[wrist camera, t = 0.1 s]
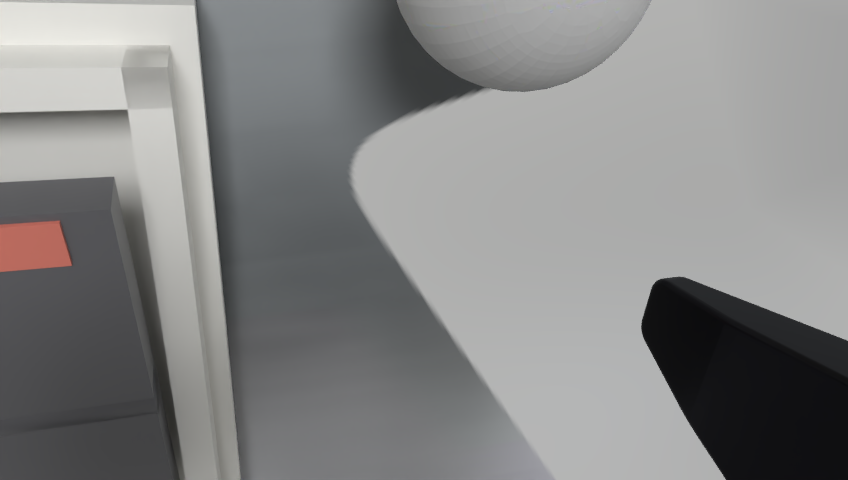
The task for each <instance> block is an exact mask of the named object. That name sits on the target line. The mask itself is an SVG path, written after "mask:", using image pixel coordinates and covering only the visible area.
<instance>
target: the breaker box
mask: <svg viewBox="0 0 848 480" xmlns="http://www.w3.org/2000/svg"><path fill="white" fill-rule="evenodd" d="M95 177H114V178H115V182H116V187H117V192H118V196H119V201H120V205H121V210H122V215H123V219H124V224H125V228H126V233H127V238H128V242H129V247H130V252H131V256H132V261H133V265H134V270H135V275H136V279H137V284H138V288H139V293H140V298H141V302H142V307H143V312H144V316H145V321H146V325H147V330H148V335H149V339H150V344H151V348H152V353H153V358H154V362H155V365H156V369H157V374H158V381H159V385H160V390H161V395H162V399H163V404H164V408H165V413H166V418H167V422H168V427H169V431H170V436H171V441H172V445H173V450H174V455H175V459H176V464H177V468H178V473H179V478H180V480H241V475H240V462H239V451H238V441H237V430H236V420H235V409H234V399H233V388H232V378H231V367H230V357H229V346H228V335H227V325H226V314H225V304H224V293H223V283H222V272H221V262H220V251H219V241H218V230H217V220H216V209H215V199H214V188H213V177H212V167H211V156H210V146H209V135H208V125H207V114H206V104H205V93H204V83H203V72H202V62H201V51H200V41H199V30H198V19H197V9H196V0H0V182H17V181H37V180H56V179H76V178H95Z"/></svg>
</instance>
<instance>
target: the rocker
mask: <svg viewBox="0 0 848 480" xmlns="http://www.w3.org/2000/svg"><path fill="white" fill-rule="evenodd" d="M0 480H180V478H179V473H178V468H177V464H176V459H175V455H174V450H173V445H172V441H171V436H170V431H169V427H168V422H167V418H166V413H165V408H164V404H163V399H162V395H161V390H160V385H159V381H158V374H157V369H156V365H155V362H154V358H153V353H152V348H151V344H150V339H149V335H148V330H147V325H146V321H145V316H144V312H143V307H142V302H141V298H140V293H139V288H138V284H137V279H136V275H135V270H134V265H133V261H132V256H131V252H130V247H129V242H128V238H127V233H126V228H125V224H124V219H123V215H122V210H121V205H120V201H119V196H118V192H117V187H116V182H115V178H114V177H95V178H76V179H56V180H37V181H17V182H0Z"/></svg>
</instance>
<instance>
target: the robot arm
mask: <svg viewBox="0 0 848 480" xmlns="http://www.w3.org/2000/svg"><path fill="white" fill-rule="evenodd" d="M641 329H642V334H643V337H644V340H645V342H646V344H647V346H648V347H649V349H650V351H651V353H652V355H653V357H654V359H655V361H656V362H657V364H658V366H659V368H660V370H661V372H662V374H663V376H664V378H665V380H666V381H667V383H668V385H669V387H670V389H671V391H672V393H673V395H674V397H675V398H676V400H677V402H678V404H679V406H680V408H681V410H682V412H683V413H684V415H685V417H686V419H687V420H688V422H689V423H690V425H691V427H692V428H693V430H694V432H695V433H696V435H697V436H698V438H699V439H700V441H701V442H702V444H703V445H704V447H705V448H706V450H707V452H708V453H709V455H710V456H711V458H712V459H713V460H714V462H715V463H716V465H717V466H718V468H719V470H720V471H721V472H722V474H723V476H724V477H725V479H726V480H848V341H847V340H844V339H842V338H839V337H836V336H834V335H831V334H829V333H826V332H824V331H821V330H819V329H816V328H813V327H811V326H808V325H806V324H803V323H800V322H798V321H795V320H793V319H790V318H788V317H785V316H783V315H780V314H777V313H775V312H772V311H770V310H767V309H764V308H762V307H759V306H757V305H754V304H752V303H749V302H747V301H744V300H741V299H739V298H736V297H733V296H731V295H729V294H726V293H723V292H721V291H718V290H716V289H713V288H710V287H708V286H705V285H703V284H700V283H698V282H695V281H693V280H690V279H687V278H684V277H672V278H664V279H660V280H658V281H656V282H655V284H654V285H653V286H652V289H651V292H650V296H649V299H648V302H647V306H646V309H645V313H644V316H643V319H642V326H641Z"/></svg>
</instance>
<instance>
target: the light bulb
mask: <svg viewBox="0 0 848 480" xmlns="http://www.w3.org/2000/svg"><path fill="white" fill-rule="evenodd" d="M396 1H397V4H398V6H399V9H400V12H401V15H402V16H403V18H404V20H405V22H406V23H407V25H408V27H409V29H410V31H411V32H412V34H413V36H414V37H415V38H416V39H417V41H418V42H419V43H420V44H421V46H422V47H423V48H424V49H425V51H426V52H427V53H428V54H429V55H430V56H432V57H433V58H434V59H435V60H436V61H437V62H438V63H439V64H441V65H442V66H443V67H444V68H446V69H447V70H449V71H451V72H452V73H454V74H456V75H457V76H459V77H460V78H462V79H465V80H467V81H470V82H472V83H475V84H477V85H480V86H483V87H487V88H492V89H497V90H502V91H521V92H525V91H534V90H541V89H547V88H551V87H554V86H557V85H560V84H564V83H567V82H569V81H571V80H573V79H576V78H578V77H580V76H582V75H584V74H586V73H587V72H589V71H591V70H592V69H594V68H595V67H597V66H598V65H600V64H601V63H602V62H604V61H605V60H606V59H607V58H608V57H609V56H610V55H612V54H613V53H614V52H615V51H616V50H617V49H618V48H619V47H620V46H621V45H622V44H623V43H624V42H625V41H626V40H627V38H628V37H629V36H630V35H631V34H632V32H633V31H634V29H635V28H636V27H637V25H638V24H639V22H640V21H641V19H642V17H643V16H644V14H645V12H646V10H647V8H648V6H649V5H650V2H651V0H396Z"/></svg>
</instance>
